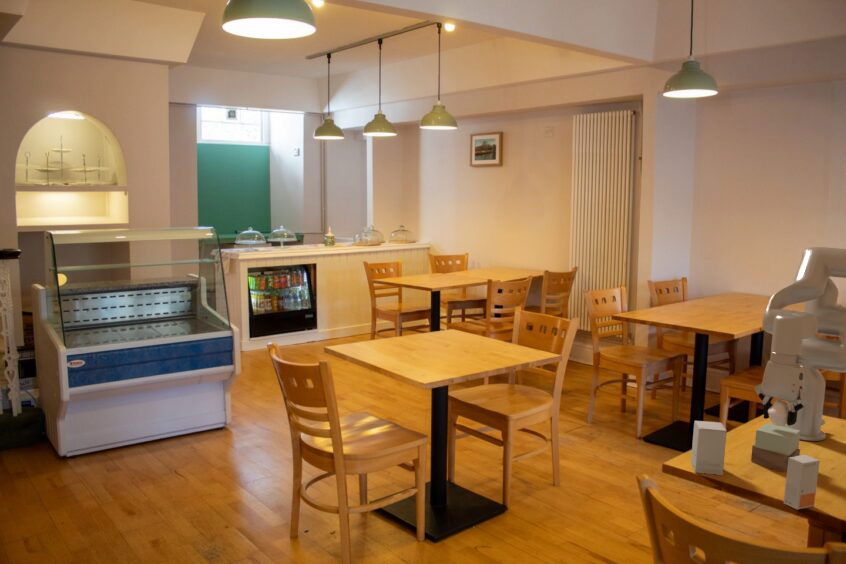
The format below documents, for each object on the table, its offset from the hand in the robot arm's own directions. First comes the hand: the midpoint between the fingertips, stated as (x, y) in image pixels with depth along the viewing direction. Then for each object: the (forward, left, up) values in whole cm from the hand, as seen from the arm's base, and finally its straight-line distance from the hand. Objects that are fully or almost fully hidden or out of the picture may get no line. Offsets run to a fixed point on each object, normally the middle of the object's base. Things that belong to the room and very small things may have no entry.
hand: (779, 420), depth 205 cm
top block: (0, 0, -8) cm, 8 cm away
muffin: (0, 0, -1) cm, 1 cm away
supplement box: (+21, -8, -13) cm, 26 cm away
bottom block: (0, 0, -13) cm, 13 cm away
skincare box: (+22, +18, -13) cm, 31 cm away
